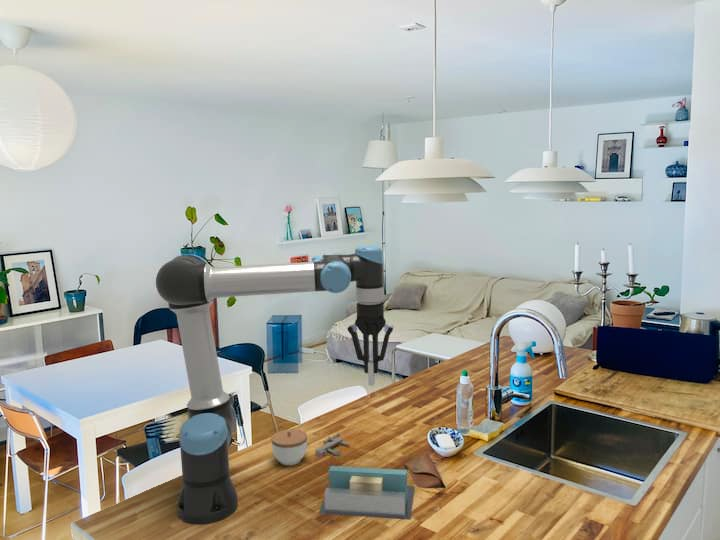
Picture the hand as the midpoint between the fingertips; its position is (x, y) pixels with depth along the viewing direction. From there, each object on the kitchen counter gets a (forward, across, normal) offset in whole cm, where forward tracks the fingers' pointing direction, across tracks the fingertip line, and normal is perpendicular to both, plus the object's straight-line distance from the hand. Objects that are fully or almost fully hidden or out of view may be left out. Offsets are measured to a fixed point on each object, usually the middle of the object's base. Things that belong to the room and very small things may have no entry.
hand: (371, 383), depth 164 cm
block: (+25, -1, +20) cm, 32 cm away
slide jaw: (+25, -1, +17) cm, 30 cm away
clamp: (+27, +15, -14) cm, 34 cm away
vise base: (+26, -1, +17) cm, 31 cm away
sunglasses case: (+27, -14, +2) cm, 31 cm away
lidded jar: (+27, +26, -4) cm, 37 cm away
